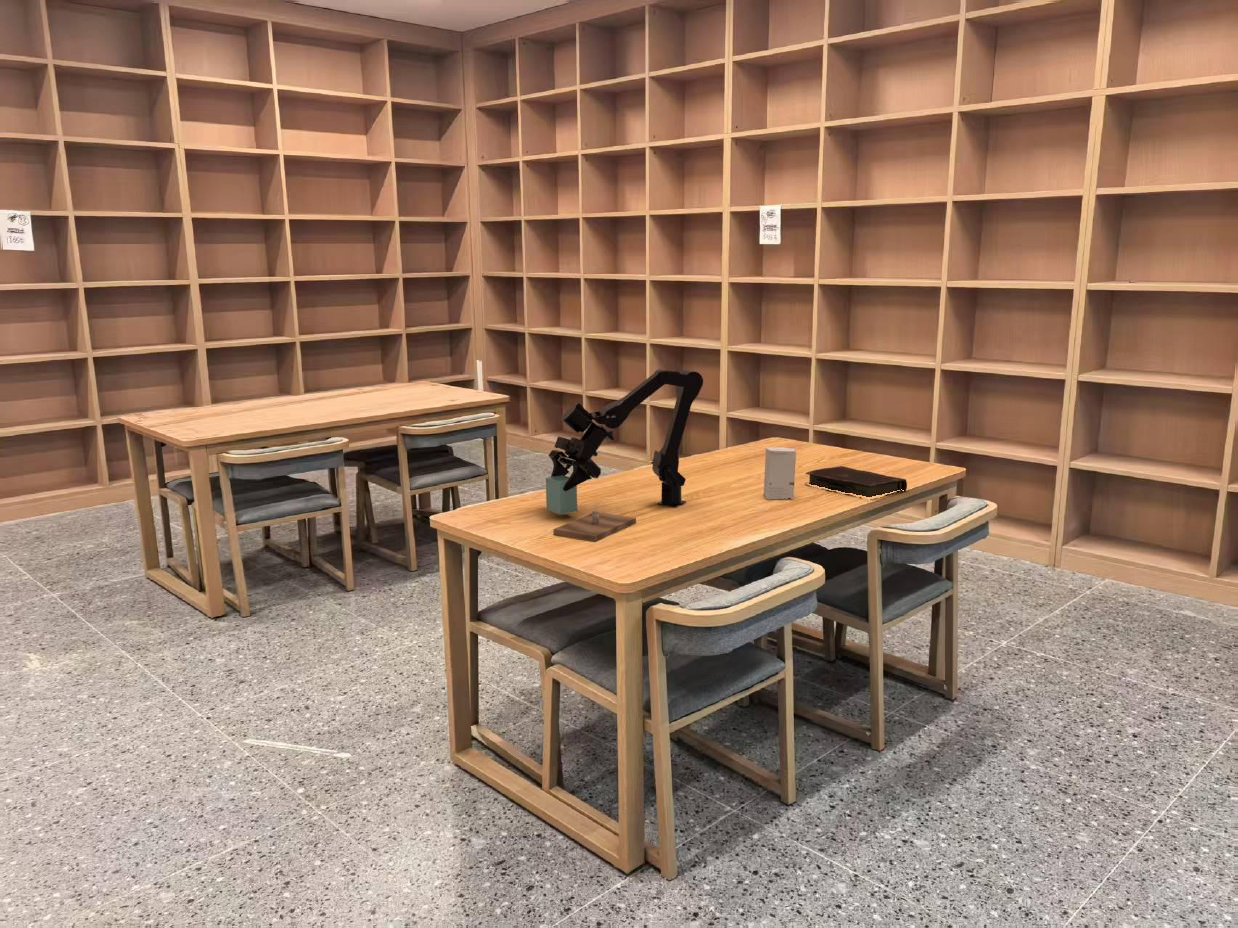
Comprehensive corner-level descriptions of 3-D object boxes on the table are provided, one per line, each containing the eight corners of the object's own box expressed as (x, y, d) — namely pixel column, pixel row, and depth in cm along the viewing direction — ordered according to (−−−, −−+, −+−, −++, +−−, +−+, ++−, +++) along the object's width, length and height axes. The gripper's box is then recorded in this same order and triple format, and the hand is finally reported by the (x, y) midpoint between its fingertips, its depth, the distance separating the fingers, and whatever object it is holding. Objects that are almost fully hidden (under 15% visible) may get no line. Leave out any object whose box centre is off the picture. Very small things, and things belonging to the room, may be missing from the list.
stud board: (595, 517, 256) (595, 498, 255) (636, 523, 250) (635, 504, 249) (553, 534, 240) (553, 515, 238) (595, 541, 233) (595, 521, 232)
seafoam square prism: (563, 506, 261) (562, 475, 259) (577, 511, 256) (576, 479, 254) (546, 509, 258) (545, 477, 256) (560, 514, 253) (559, 482, 251)
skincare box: (766, 500, 273) (768, 450, 270) (763, 495, 279) (764, 446, 276) (795, 499, 274) (796, 450, 271) (790, 494, 280) (792, 446, 277)
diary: (842, 479, 302) (843, 464, 301) (906, 494, 282) (907, 477, 281) (803, 487, 291) (803, 471, 290) (867, 502, 271) (868, 485, 270)
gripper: (553, 421, 262) (520, 464, 258) (591, 430, 247) (557, 476, 243) (577, 445, 268) (545, 488, 264) (615, 455, 253) (582, 500, 249)
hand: (556, 487), depth 255 cm, fingers closed on seafoam square prism, 7 cm apart
